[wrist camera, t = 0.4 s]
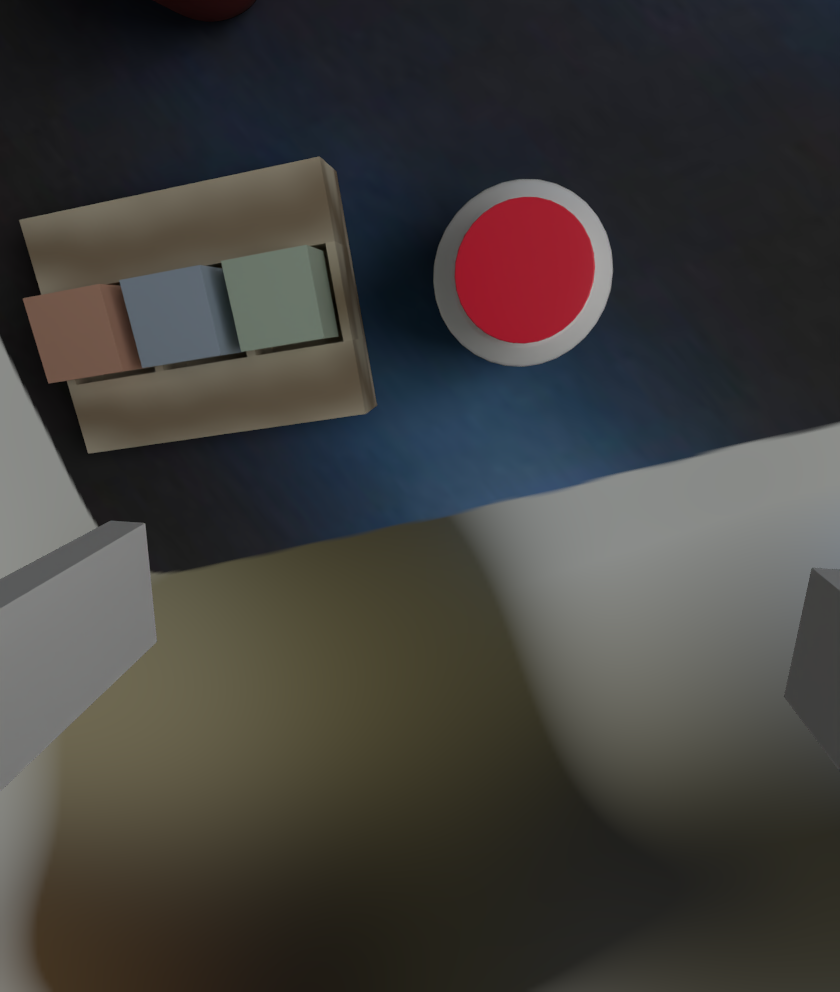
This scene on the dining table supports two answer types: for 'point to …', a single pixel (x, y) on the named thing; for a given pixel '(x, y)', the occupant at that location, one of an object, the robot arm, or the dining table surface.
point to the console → (207, 241)
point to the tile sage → (280, 297)
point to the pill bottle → (523, 272)
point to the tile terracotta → (83, 332)
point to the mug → (208, 8)
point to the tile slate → (180, 315)
